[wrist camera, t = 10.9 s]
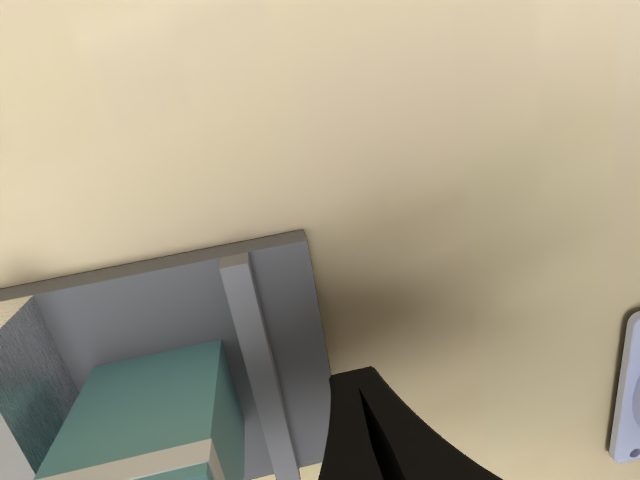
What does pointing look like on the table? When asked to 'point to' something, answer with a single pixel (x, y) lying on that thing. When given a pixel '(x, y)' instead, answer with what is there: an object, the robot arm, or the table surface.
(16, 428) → the rail
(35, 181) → the table surface
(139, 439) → the block
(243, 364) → the grey stand with lip
